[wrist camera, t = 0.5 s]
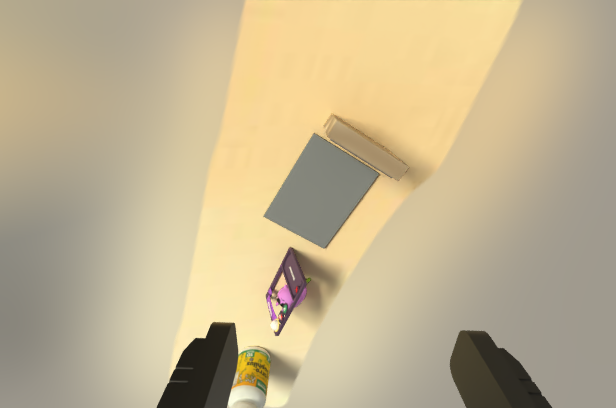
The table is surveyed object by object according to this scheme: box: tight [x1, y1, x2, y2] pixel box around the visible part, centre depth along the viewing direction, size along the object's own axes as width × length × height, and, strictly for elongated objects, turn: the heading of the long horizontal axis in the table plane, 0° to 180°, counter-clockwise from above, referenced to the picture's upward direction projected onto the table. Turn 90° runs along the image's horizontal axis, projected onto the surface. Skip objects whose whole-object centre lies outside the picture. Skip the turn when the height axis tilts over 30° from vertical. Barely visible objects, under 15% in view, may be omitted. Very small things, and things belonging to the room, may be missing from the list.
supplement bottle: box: [228, 346, 271, 408], centre depth 41 cm, size 5×5×10 cm
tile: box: [324, 113, 409, 181], centre depth 29 cm, size 2×8×7 cm, turn 59°
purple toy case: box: [266, 247, 311, 336], centre depth 38 cm, size 7×5×9 cm
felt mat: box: [264, 133, 379, 248], centre depth 35 cm, size 12×9×1 cm
